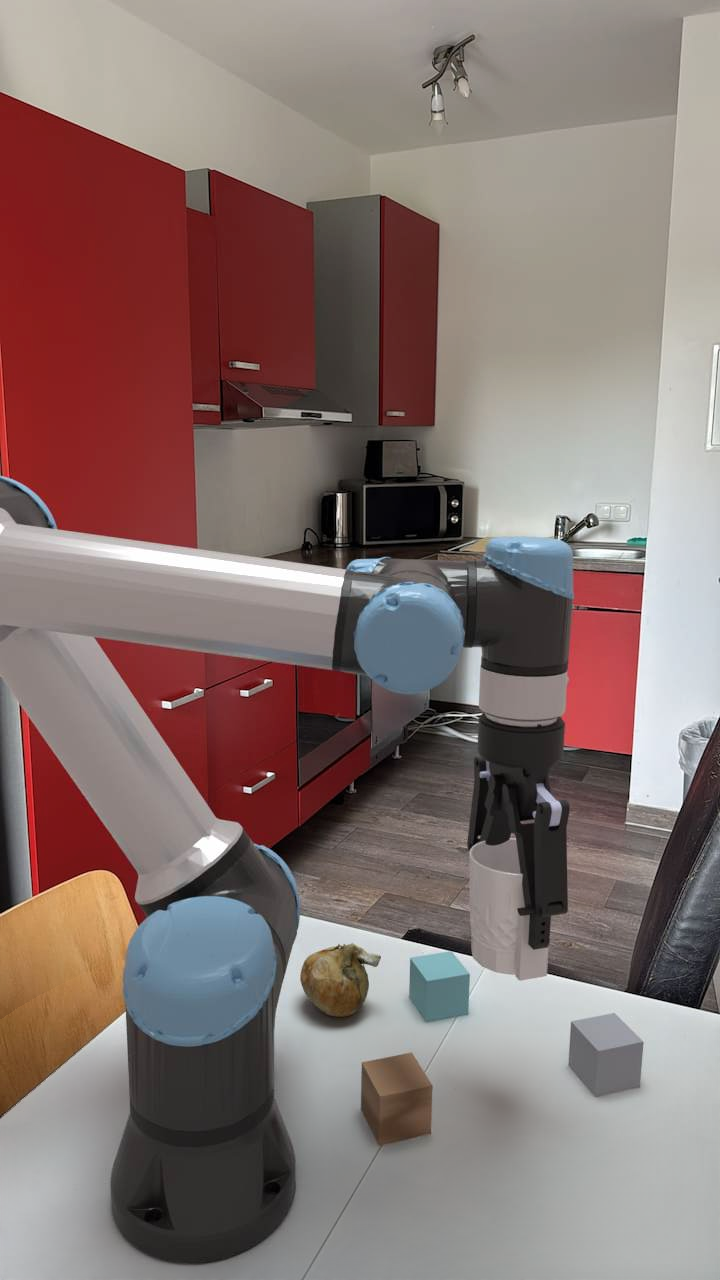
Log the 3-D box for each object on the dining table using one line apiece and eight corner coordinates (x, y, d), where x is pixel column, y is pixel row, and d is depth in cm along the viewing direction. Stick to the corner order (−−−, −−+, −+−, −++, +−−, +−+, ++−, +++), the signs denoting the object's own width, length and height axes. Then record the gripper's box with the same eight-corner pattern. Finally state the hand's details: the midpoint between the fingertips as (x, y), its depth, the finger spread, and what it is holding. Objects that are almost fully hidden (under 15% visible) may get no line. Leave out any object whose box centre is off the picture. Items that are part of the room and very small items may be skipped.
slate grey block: (595, 1097, 92) (598, 1051, 91) (568, 1066, 96) (571, 1021, 95) (639, 1087, 93) (643, 1041, 92) (611, 1057, 98) (614, 1012, 97)
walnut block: (378, 1146, 85) (379, 1096, 84) (360, 1110, 89) (361, 1062, 88) (430, 1134, 86) (432, 1085, 85) (410, 1099, 91) (411, 1052, 90)
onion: (343, 980, 111) (344, 917, 109) (384, 1014, 105) (386, 947, 103) (287, 1001, 107) (287, 936, 105) (327, 1037, 100) (327, 968, 99)
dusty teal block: (425, 1023, 103) (427, 981, 102) (409, 998, 108) (410, 957, 107) (468, 1015, 105) (469, 973, 104) (449, 991, 109) (451, 951, 108)
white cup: (558, 980, 84) (565, 875, 82) (468, 978, 85) (473, 873, 83) (543, 935, 92) (549, 838, 90) (461, 933, 92) (465, 836, 90)
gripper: (625, 745, 75) (606, 1007, 80) (507, 684, 95) (497, 898, 99) (540, 753, 73) (525, 1022, 78) (437, 689, 92) (430, 908, 97)
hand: (509, 952), depth 88 cm, fingers closed on white cup, 8 cm apart
